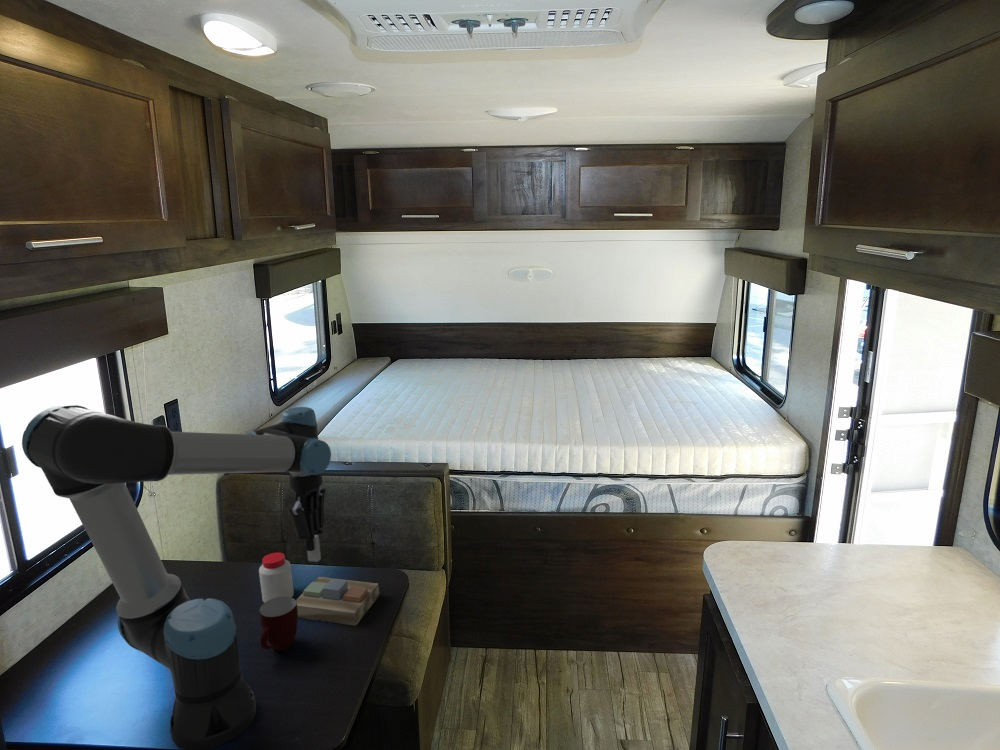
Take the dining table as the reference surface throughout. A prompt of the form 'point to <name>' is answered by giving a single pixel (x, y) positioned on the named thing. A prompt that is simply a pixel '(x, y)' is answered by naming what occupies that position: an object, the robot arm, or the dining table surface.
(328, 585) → the tile slate
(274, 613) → the mug
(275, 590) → the pill bottle
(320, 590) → the tile sage
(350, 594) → the tile terracotta
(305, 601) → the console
